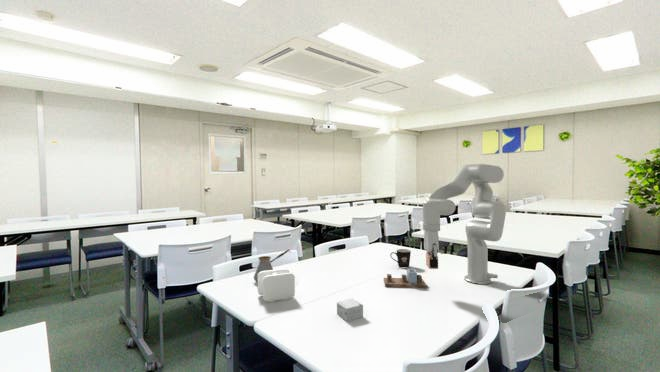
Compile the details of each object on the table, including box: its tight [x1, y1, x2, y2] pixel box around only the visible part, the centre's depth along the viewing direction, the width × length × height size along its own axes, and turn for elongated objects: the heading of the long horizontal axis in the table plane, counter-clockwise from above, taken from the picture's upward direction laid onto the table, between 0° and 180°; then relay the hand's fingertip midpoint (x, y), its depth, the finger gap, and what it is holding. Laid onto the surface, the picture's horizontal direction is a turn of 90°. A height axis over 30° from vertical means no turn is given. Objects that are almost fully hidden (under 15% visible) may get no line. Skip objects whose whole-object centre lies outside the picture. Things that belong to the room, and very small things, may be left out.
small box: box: [336, 298, 364, 322], centre depth 122 cm, size 8×8×5 cm
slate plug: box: [406, 268, 418, 284], centre depth 158 cm, size 4×6×6 cm, turn 174°
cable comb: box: [383, 273, 427, 289], centre depth 158 cm, size 20×10×4 cm, turn 85°
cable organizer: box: [257, 267, 296, 303], centre depth 142 cm, size 15×11×12 cm
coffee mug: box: [389, 248, 412, 268], centre depth 191 cm, size 12×9×10 cm
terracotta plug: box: [425, 252, 439, 270], centre depth 144 cm, size 4×6×6 cm, turn 175°
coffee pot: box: [253, 249, 292, 282], centre depth 166 cm, size 21×12×15 cm, turn 128°
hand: (432, 265), depth 144 cm, fingers closed on terracotta plug, 6 cm apart
